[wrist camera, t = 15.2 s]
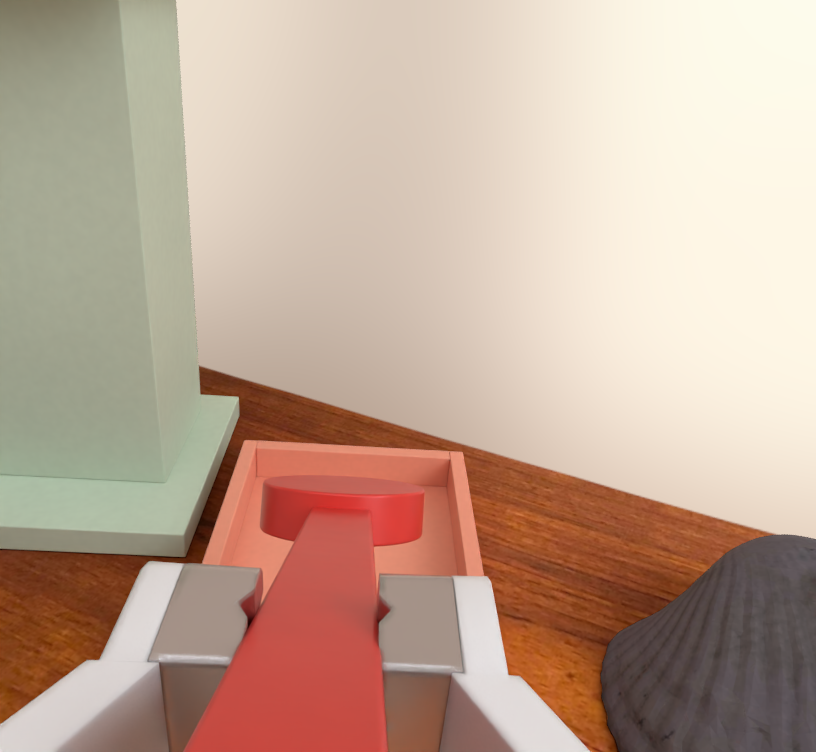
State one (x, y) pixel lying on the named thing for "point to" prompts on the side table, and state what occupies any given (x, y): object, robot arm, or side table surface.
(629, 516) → the side table surface
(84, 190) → the stand
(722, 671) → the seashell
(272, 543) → the tray
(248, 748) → the red spoon
